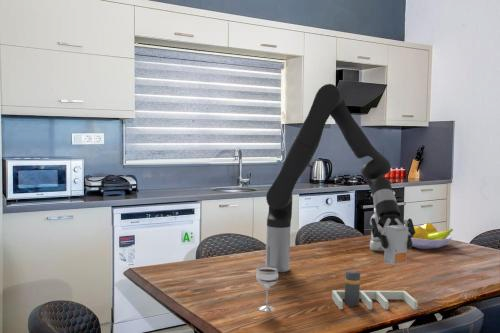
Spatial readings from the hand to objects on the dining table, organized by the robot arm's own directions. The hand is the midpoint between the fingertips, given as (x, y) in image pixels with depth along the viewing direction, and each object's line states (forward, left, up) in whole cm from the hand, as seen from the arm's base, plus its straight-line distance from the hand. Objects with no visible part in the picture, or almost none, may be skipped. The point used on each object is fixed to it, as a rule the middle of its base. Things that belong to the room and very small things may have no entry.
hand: (397, 247), depth 147 cm
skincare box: (0, +2, -6) cm, 6 cm away
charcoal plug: (-15, -3, -17) cm, 23 cm away
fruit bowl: (+43, +78, -18) cm, 91 cm away
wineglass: (-42, -7, -18) cm, 46 cm away
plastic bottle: (+16, +67, -18) cm, 71 cm away
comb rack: (-8, -3, -17) cm, 19 cm away
